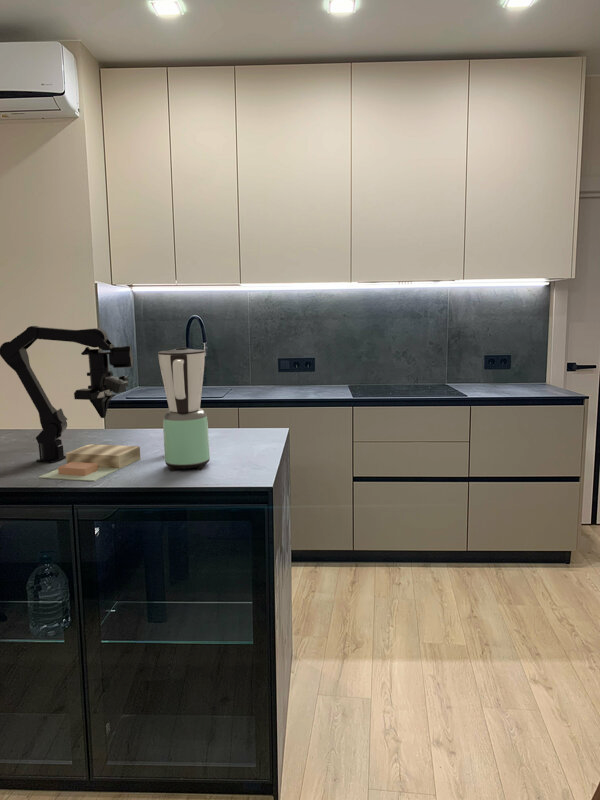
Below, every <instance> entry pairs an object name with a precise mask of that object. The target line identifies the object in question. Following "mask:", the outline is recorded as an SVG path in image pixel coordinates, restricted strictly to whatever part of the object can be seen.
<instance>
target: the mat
mask: <svg viewBox="0 0 600 800" xmlns="http://www.w3.org/2000/svg"><path fill="white" fill-rule="evenodd" d="M118 470H120V469H118V468H100V467H98V470H97V471H95V472H93V473H91V474H89V475H86V476H80V475H64V474H58V468H57V469H56V468H55V470H52V471H50V472H47V473H44V474H41V475H40V476H38V478H39V479H53V480H54V479H55V480H65V481H66V480H68V481H70V480H71V481H85V482H96V481H98V480H100V479H102V478H104V477H106V476H109V475H111V474H112V473H115V472H116V471H118Z"/></svg>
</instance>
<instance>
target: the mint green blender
mask: <svg viewBox="0 0 600 800" xmlns="http://www.w3.org/2000/svg"><path fill="white" fill-rule="evenodd" d="M205 353H206V350H204V349H194V348H193V349H192V348H188V347H175V348H174V349H170V350H161V351H158V352H157V355H158V362H159V363H158V364H159V368H160V372H161V378H162V383H163V387H164V392H165V398H166V401H167V404H168V405H167V406H168V409H169V410H167V411H166V412H164V416H163V417H162V418H163V421H162V427H163V432H162V433H163V448H164V449H163V451H164V462H165V465H166V466H167V467H168V468H169V471H170V472H175V471H177V470H178V469H180V470H181V469H193V468H195V469H196V470H197V471H200V470H201V471H202V470H204V466H205V465H207V464H208V463H209V462H210V459H211V455H210V443H209V441H210V440H209V438H210V437H209V423H208V417H207V413H206V412H205V410H204V409H203V408H201V401H202V393H203V382H204V381H203V380H204V373H205V359H206V358H205V355H206V354H205Z"/></svg>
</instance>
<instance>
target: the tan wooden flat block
mask: <svg viewBox="0 0 600 800" xmlns="http://www.w3.org/2000/svg"><path fill="white" fill-rule="evenodd" d="M65 456H66V458H65V459H66V460H65V461H66V464H67V463H70V462H80V463H98V467H100V468H118V469H119V470H120V469H123V468H125V467H127V466H129V465H131V464H133V463H136V462H137V461H139V460H141V446H139V445H116V444H93V443H92V444H87V445H84V446H81V447H79V448H76V449H74V450H70V451H68V452H66V453H65Z"/></svg>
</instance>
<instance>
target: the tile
mask: <svg viewBox="0 0 600 800" xmlns="http://www.w3.org/2000/svg"><path fill="white" fill-rule="evenodd" d="M57 469H58V474H64V475H80V476H86V475H89V474H91V473H93V472H95V471H97V470H98V463H80V462H70V463H67V462H66V464H62V465H60V466H58V467H57Z"/></svg>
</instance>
